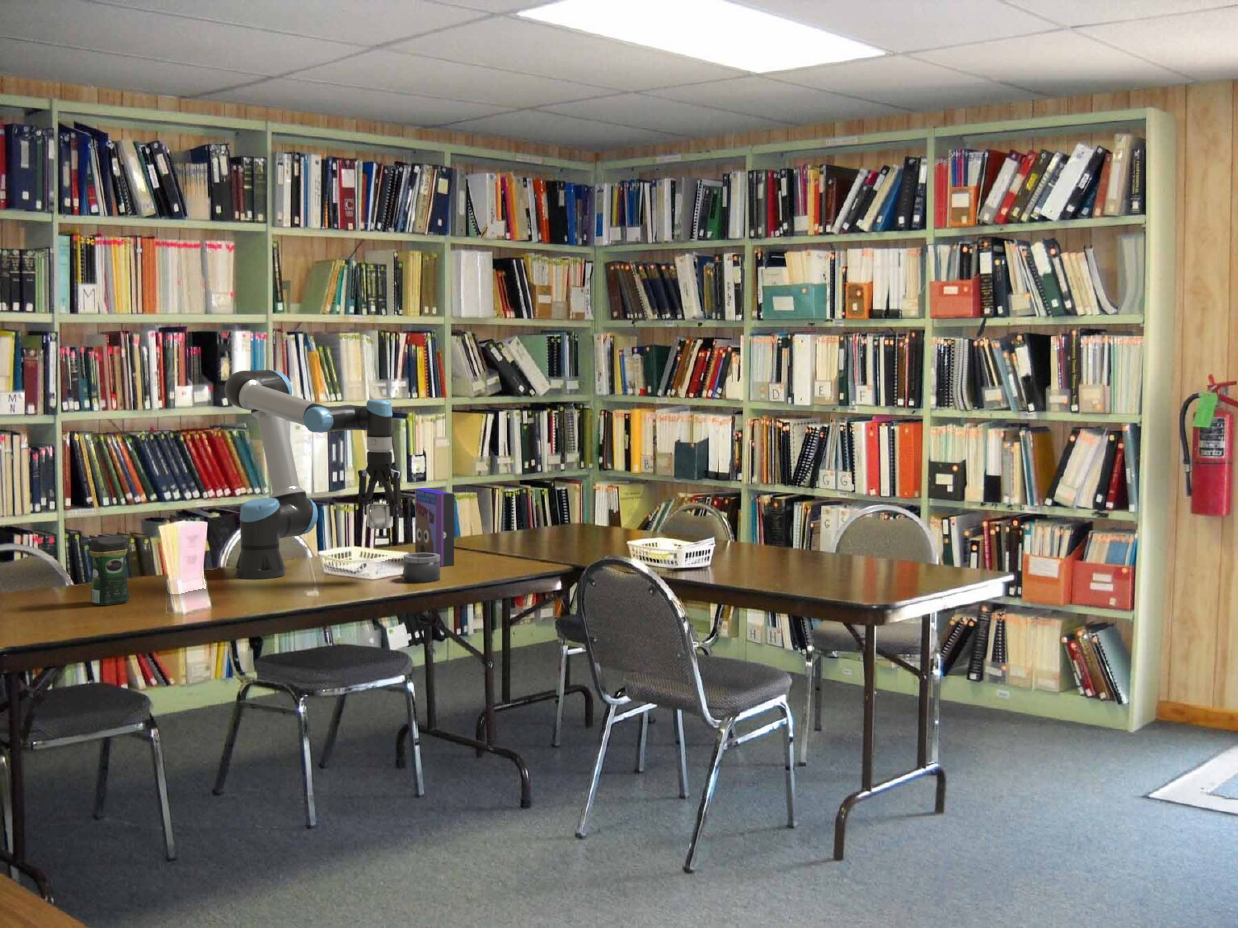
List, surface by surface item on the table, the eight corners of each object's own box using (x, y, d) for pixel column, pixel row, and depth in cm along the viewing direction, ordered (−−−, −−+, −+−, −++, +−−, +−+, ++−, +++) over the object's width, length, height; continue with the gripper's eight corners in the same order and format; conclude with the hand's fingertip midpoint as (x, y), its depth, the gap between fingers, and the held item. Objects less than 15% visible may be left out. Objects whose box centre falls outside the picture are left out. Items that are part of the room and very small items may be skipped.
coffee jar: (120, 598, 376) (119, 533, 374) (133, 602, 370) (131, 536, 368) (86, 602, 369) (84, 536, 367) (98, 607, 363) (96, 539, 362)
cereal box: (415, 559, 448) (415, 488, 446) (427, 558, 451) (427, 487, 449) (441, 567, 434) (441, 493, 432) (454, 565, 437) (454, 492, 435)
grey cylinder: (366, 528, 404) (366, 505, 404) (375, 525, 410) (375, 503, 409) (383, 529, 403) (383, 506, 402) (393, 526, 408) (393, 504, 408)
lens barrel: (397, 581, 408) (397, 557, 407) (413, 575, 418) (413, 551, 417) (430, 583, 404) (430, 559, 404) (445, 577, 415) (445, 553, 414)
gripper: (345, 450, 403) (345, 526, 406) (402, 452, 398) (402, 529, 400) (357, 448, 411) (357, 523, 413) (413, 451, 405) (413, 526, 407)
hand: (379, 526), depth 406 cm, fingers closed on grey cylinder, 6 cm apart
